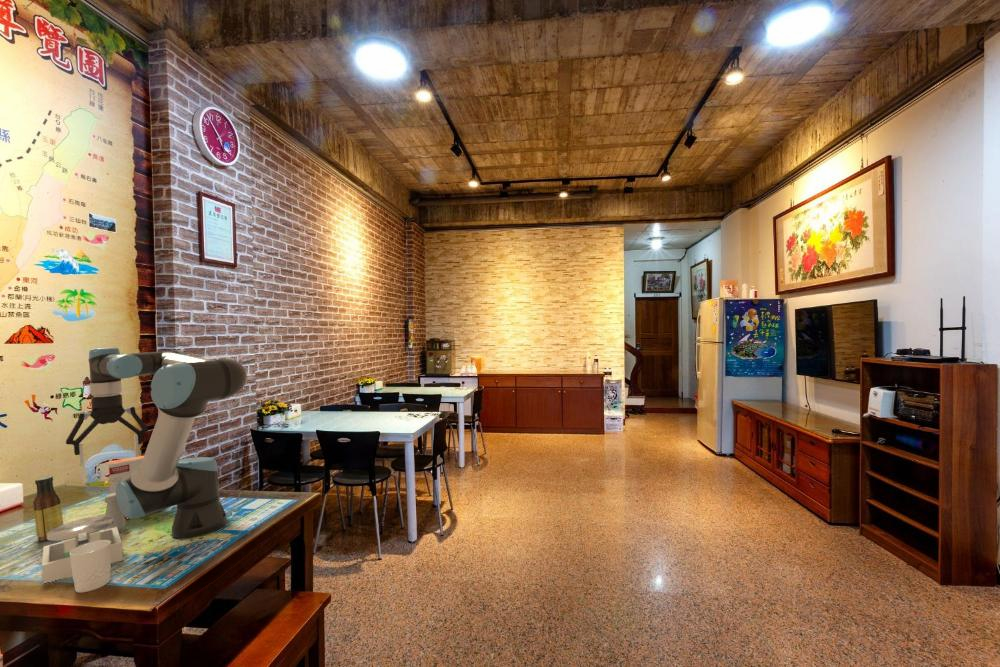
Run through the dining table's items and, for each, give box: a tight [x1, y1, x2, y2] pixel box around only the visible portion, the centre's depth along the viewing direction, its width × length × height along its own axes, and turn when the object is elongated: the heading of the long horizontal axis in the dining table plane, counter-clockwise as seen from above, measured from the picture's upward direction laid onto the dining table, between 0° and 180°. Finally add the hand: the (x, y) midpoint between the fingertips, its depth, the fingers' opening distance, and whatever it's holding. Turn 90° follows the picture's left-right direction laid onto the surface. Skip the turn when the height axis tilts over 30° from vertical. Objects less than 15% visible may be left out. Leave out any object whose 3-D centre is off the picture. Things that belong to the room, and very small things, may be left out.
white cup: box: [70, 540, 112, 593], centre depth 115 cm, size 8×8×10 cm
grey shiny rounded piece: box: [47, 514, 114, 548], centre depth 127 cm, size 18×14×6 cm
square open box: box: [41, 527, 124, 585], centre depth 127 cm, size 17×16×10 cm
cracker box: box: [108, 455, 144, 520], centre depth 161 cm, size 14×6×21 cm, turn 129°
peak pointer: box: [78, 538, 88, 545], centre depth 121 cm, size 2×2×1 cm
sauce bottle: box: [32, 475, 64, 542], centre depth 145 cm, size 7×6×20 cm
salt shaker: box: [102, 493, 127, 534], centre depth 146 cm, size 6×6×13 cm
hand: (110, 459), depth 146 cm, fingers open, 13 cm apart
